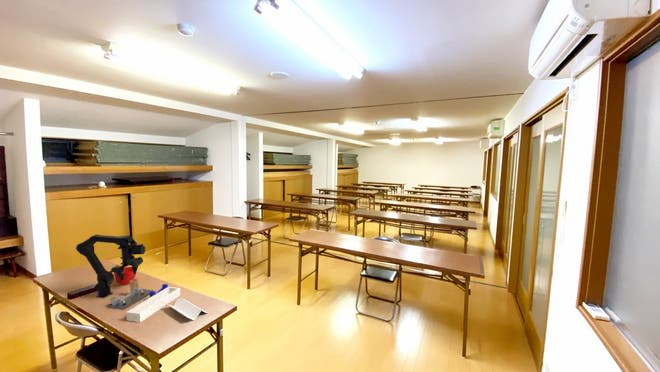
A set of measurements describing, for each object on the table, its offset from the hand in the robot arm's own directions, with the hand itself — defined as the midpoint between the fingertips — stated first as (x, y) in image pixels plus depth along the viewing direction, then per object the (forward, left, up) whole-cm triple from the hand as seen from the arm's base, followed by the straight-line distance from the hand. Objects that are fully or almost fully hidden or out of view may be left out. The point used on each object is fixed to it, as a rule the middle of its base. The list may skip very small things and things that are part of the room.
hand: (128, 277), depth 183 cm
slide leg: (+7, -1, -10) cm, 12 cm away
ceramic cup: (-19, +13, -12) cm, 26 cm away
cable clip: (+21, +1, -12) cm, 25 cm away
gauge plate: (+8, -6, -12) cm, 16 cm away
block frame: (+30, -10, -12) cm, 34 cm away
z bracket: (+52, -11, -12) cm, 55 cm away
